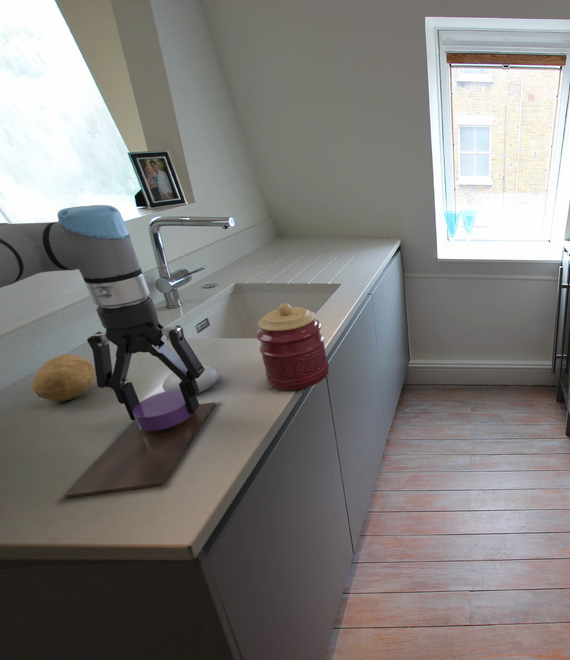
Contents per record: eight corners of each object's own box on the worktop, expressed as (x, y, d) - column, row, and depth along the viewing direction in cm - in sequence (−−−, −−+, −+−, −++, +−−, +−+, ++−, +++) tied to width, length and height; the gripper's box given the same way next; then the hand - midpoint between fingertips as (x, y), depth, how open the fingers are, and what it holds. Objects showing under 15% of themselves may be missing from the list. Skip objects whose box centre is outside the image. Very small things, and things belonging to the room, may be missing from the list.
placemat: (66, 498, 67) (65, 495, 67) (144, 412, 88) (143, 409, 88) (161, 485, 70) (160, 482, 69) (216, 404, 90) (215, 402, 90)
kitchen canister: (328, 386, 96) (314, 311, 89) (263, 396, 93) (243, 318, 86) (330, 359, 108) (318, 291, 100) (273, 367, 104) (255, 296, 97)
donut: (213, 395, 94) (223, 372, 102) (209, 381, 92) (219, 359, 101) (158, 404, 91) (173, 379, 99) (153, 389, 89) (168, 366, 98)
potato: (101, 374, 102) (88, 343, 99) (103, 400, 92) (88, 366, 89) (43, 389, 96) (27, 356, 93) (38, 418, 86) (20, 382, 83)
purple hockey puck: (127, 433, 79) (121, 419, 78) (153, 405, 87) (148, 392, 86) (182, 427, 81) (177, 414, 79) (203, 400, 89) (198, 387, 87)
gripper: (32, 314, 69) (88, 432, 78) (185, 303, 73) (221, 417, 82) (64, 298, 76) (112, 408, 85) (203, 289, 80) (235, 395, 89)
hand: (166, 412), depth 84 cm, fingers closed on purple hockey puck, 9 cm apart
